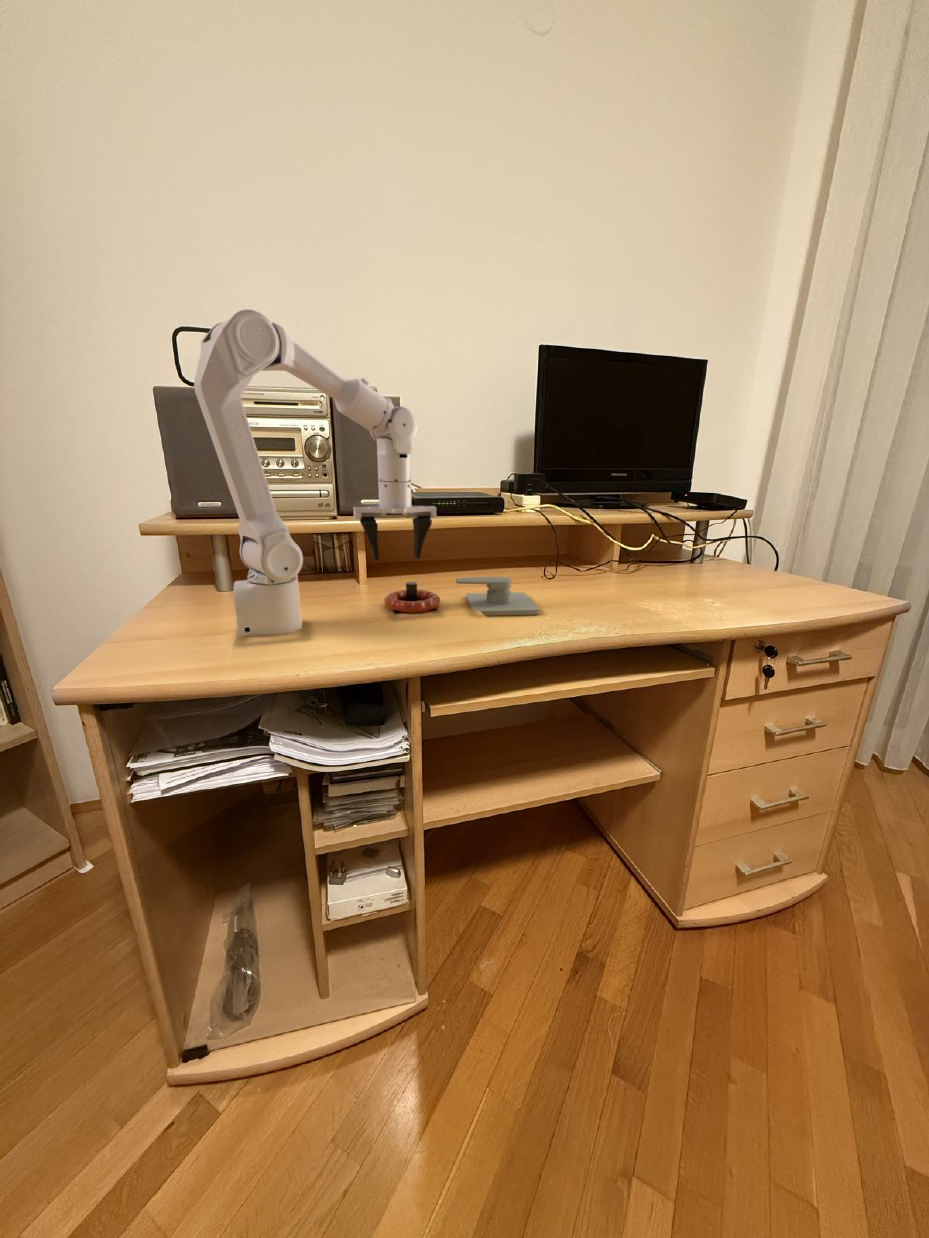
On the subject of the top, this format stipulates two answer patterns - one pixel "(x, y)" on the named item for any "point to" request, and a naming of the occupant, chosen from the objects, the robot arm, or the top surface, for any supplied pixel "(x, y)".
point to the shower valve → (499, 598)
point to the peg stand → (411, 595)
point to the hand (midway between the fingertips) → (396, 558)
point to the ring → (399, 604)
